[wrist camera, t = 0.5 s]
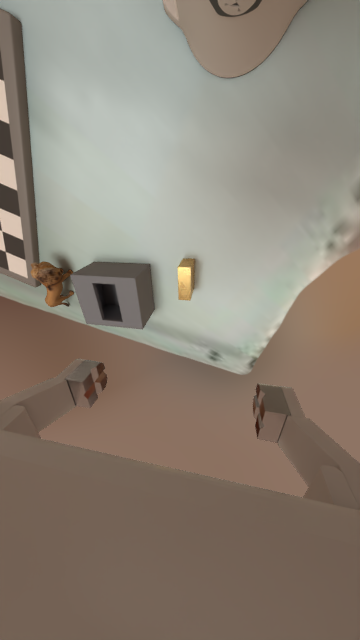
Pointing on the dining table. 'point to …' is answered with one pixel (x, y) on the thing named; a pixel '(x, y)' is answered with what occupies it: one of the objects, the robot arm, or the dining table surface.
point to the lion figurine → (51, 282)
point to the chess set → (15, 160)
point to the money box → (115, 294)
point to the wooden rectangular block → (186, 279)
